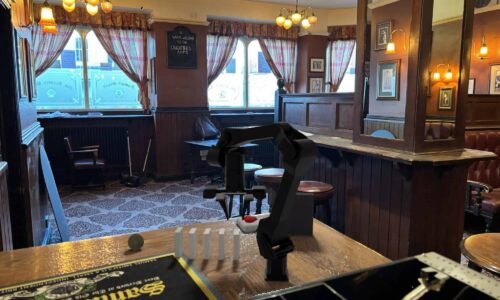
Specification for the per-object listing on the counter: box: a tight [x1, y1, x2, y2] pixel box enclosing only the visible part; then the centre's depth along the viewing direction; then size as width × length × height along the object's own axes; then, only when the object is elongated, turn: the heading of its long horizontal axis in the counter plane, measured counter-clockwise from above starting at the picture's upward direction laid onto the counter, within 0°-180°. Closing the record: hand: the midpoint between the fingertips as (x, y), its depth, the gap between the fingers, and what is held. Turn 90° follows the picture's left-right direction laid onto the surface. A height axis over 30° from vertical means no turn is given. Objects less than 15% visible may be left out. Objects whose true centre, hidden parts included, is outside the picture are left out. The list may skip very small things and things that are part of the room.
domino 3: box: [203, 227, 212, 260], centre depth 117 cm, size 5×2×8 cm, turn 177°
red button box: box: [235, 215, 261, 233], centre depth 145 cm, size 12×4×10 cm
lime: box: [127, 233, 145, 251], centre depth 122 cm, size 4×5×5 cm
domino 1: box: [173, 226, 185, 258], centre depth 118 cm, size 5×2×8 cm, turn 177°
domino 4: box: [217, 228, 227, 261], centre depth 117 cm, size 5×2×8 cm, turn 177°
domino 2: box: [188, 227, 198, 260], centre depth 117 cm, size 5×2×8 cm, turn 177°
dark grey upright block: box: [287, 192, 315, 237], centre depth 137 cm, size 11×4×15 cm, turn 84°
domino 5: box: [232, 228, 241, 261], centre depth 116 cm, size 5×2×8 cm, turn 177°
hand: (235, 220), depth 115 cm, fingers open, 4 cm apart
